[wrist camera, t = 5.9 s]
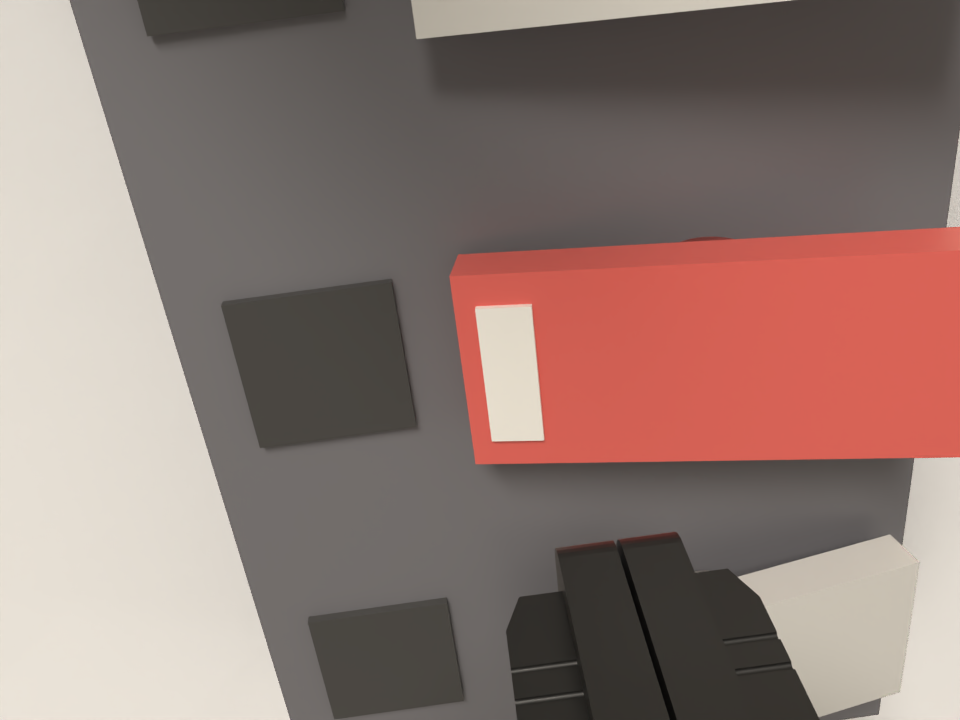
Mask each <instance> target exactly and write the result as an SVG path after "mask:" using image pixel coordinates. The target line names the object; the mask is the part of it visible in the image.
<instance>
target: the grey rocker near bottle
mask: <svg viewBox="0 0 960 720" xmlns="http://www.w3.org/2000/svg"><path fill="white" fill-rule="evenodd" d="M781 1H791V0H411V3H412V11H413V18H414V25H415V32H416V39H424V38H433V37H443V36H453V35H462V34H472V33H482V32H491V31H501V30H511V29H520V28H530V27H540V26H549V25H559V24H569V23H578V22H588V21H598V20H607V19H617V18H627V17H636V16H646V15H656V14H665V13H675V12H685V11H694V10H704V9H714V8H723V7H733V6H743V5H752V4H762V3H772V2H781Z"/></svg>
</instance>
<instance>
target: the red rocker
mask: <svg viewBox="0 0 960 720" xmlns="http://www.w3.org/2000/svg"><path fill="white" fill-rule="evenodd" d="M449 277H450V284H451V292H452V299H453V306H454V313H455V320H456V327H457V335H458V342H459V349H460V356H461V363H462V370H463V378H464V385H465V392H466V399H467V406H468V413H469V421H470V428H471V435H472V442H473V449H474V456H475V464H528V463H597V462H666V461H734V460H803V459H872V458H941V457H960V227H948V228H930V229H912V230H893V231H875V232H857V233H839V234H821V235H803V236H784V237H766V238H748V239H732V238H726V237H698V238H692V239H688V240H684V241H681V242H675V243H657V244H639V245H621V246H603V247H585V248H566V249H548V250H530V251H512V252H494V253H476V254H458V256H457V259H456V261H455V264H454V266H453V269H452V271H451V274H450V276H449Z"/></svg>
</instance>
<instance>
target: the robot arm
mask: <svg viewBox="0 0 960 720" xmlns="http://www.w3.org/2000/svg"><path fill="white" fill-rule="evenodd" d="M555 562H556V573H557V583H558V592H551V593H544V594H537V595H529V596H522V597H519V598H518V601H517V604H516V606H515V609H514V611H513V614H512V617H511V619H510V622H509V624H508V627H507V630H506V636H507V644H508V652H509V659H510V667H511V675H512V683H513V691H514V699H515V707H516V715H517V720H820V719H819V717H818V715H817V713H816V711H815V709H814V707H813V705H812V703H811V701H810V699H809V697H808V695H807V692H806V690H805V688H804V686H803V684H802V682H801V680H800V678H799V676H798V674H797V672H796V670H795V669H793V668H792V664H791V660H790V658H789V655H788V653H787V651H786V649H785V647H784V645H783V643H782V641H781V639H778V636H777V631H776V629H775V627H774V625H773V623H772V621H771V619H770V616H769V614H768V612H767V610H766V608H765V606H764V604H763V602H762V600H761V598H760V596H759V595H757V594H756V593H755V592H754V591H753V590H752V589H751V588H750V587H748V586H747V585H746V584H745V583H744V582H743V581H742V580H740V579H739V578H738V577H737V576H736V575H735V574H734V573H732V572H731V571H730V570H729V569H720V570H713V571H705V572H698V573H695V571H694V569H693V567H692V564H691V562H690V559H689V557H688V554H687V552H686V550H685V547H684V545H683V542H682V540H681V538H680V536H679V534H678V533H677V532H669V533H662V534H654V535H647V536H639V537H632V538H624V539H618V540H617V542H616V544H615V542H614V541H613V540H612V541H604V542H597V543H589V544H582V545H574V546H567V547H559V548H555Z"/></svg>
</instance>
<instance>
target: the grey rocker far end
mask: <svg viewBox="0 0 960 720" xmlns="http://www.w3.org/2000/svg"><path fill="white" fill-rule="evenodd" d="M919 563H920V562H919V561H918V560H917V559H916V558H915V557H914V556H913V555H911V554H910V553H909V552H908V551H907V550H906V549H905V548H904V547H903V546H902V545H901V544H900V543H899V542H898V541H897V540H896V539H894V538H893V537H892V536H891V535H886V536H882V537H879V538H875V539H872V540H868V541H864V542H861V543H857V544H854V545H850V546H847V547H843V548H839V549H836V550H832V551H829V552H825V553H821V554H818V555H814V556H811V557H807V558H803V559H800V560H796V561H793V562H789V563H785V564H782V565H778V566H775V567H771V568H767V569H764V570H760V571H757V572H753V573H749V574H746V575H742V576H739V577H738V578H739V579H740V580H742V581H743V582H744V583H745V584H746V585H747V586H748V587H750V588H751V589H752V590H753V591H754V592H755V593H756V594H757V595H759V596H760V598H761V600H762V602H763V604H764V606H765V608H766V610H767V612H768V614H769V616H770V619H771V621H772V623H773V625H774V627H775V629H776V631H777V636H778V639H781V641H782V643H783V645H784V647H785V649H786V651H787V653H788V655H789V658H790V660H791V664H792V668H793V669H795V670H796V672H797V674H798V676H799V678H800V680H801V682H802V684H803V686H804V688H805V690H806V692H807V695H808V697H809V699H810V701H811V703H812V705H813V707H814V709H815V711H816V713H817V715H818V717H821V716H825V715H828V714H831V713H834V712H838V711H841V710H844V709H847V708H850V707H854V706H857V705H860V704H863V703H866V702H870V701H873V700H876V699H879V698H882V697H886V696H889V695H892V694H895V693H898V692H900V688H901V682H902V675H903V669H904V662H905V655H906V649H907V642H908V636H909V629H910V623H911V616H912V609H913V603H914V596H915V590H916V583H917V577H918V570H919ZM705 571H706V570H701V571H695V573H698V572H705Z"/></svg>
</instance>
